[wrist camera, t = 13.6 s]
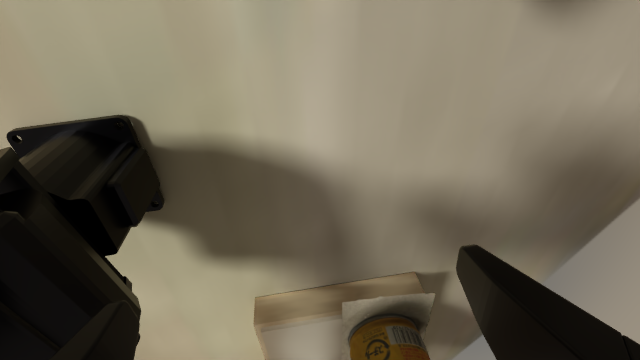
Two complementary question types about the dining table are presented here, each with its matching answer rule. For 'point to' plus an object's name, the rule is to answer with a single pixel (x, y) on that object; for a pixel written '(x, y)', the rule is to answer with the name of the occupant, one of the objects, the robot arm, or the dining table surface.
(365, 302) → the condiment
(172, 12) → the dining table surface
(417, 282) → the picture frame
